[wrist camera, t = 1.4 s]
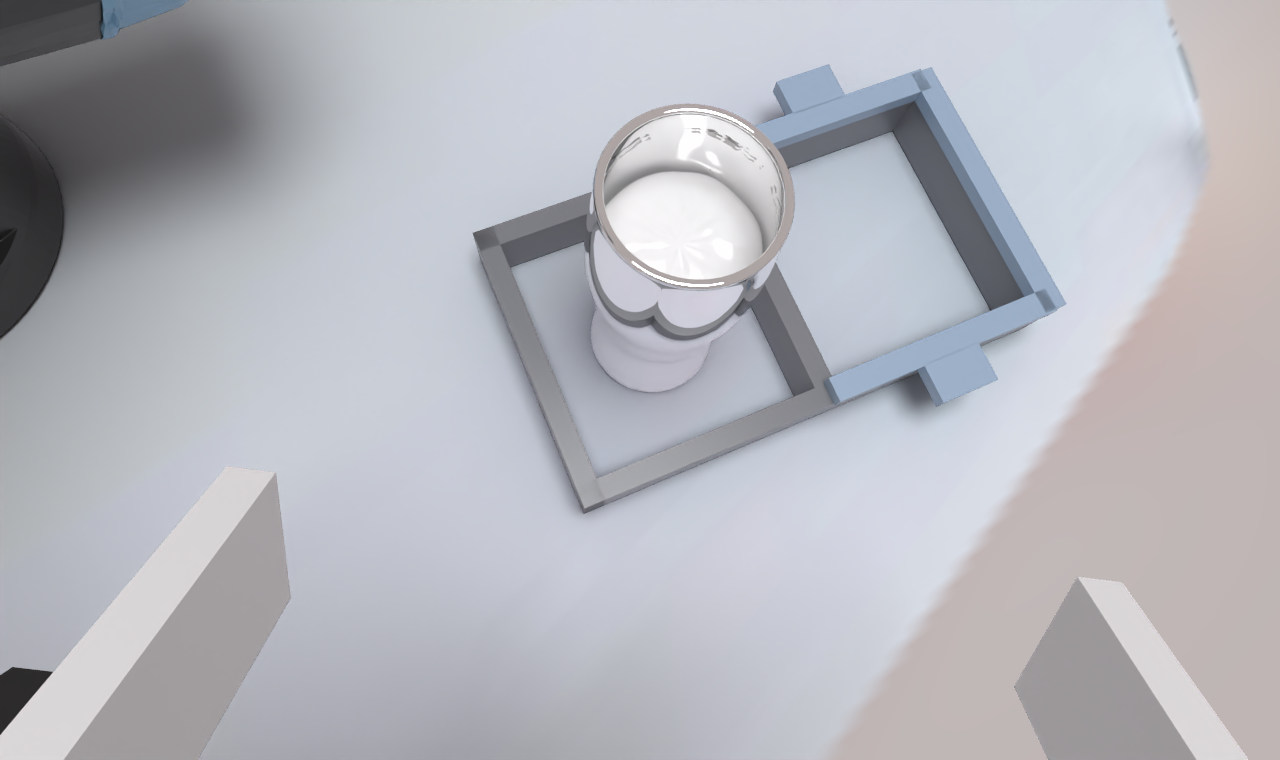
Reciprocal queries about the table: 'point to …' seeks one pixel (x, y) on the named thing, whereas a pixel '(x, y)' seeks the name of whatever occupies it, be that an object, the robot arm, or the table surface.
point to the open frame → (803, 134)
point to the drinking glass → (680, 238)
